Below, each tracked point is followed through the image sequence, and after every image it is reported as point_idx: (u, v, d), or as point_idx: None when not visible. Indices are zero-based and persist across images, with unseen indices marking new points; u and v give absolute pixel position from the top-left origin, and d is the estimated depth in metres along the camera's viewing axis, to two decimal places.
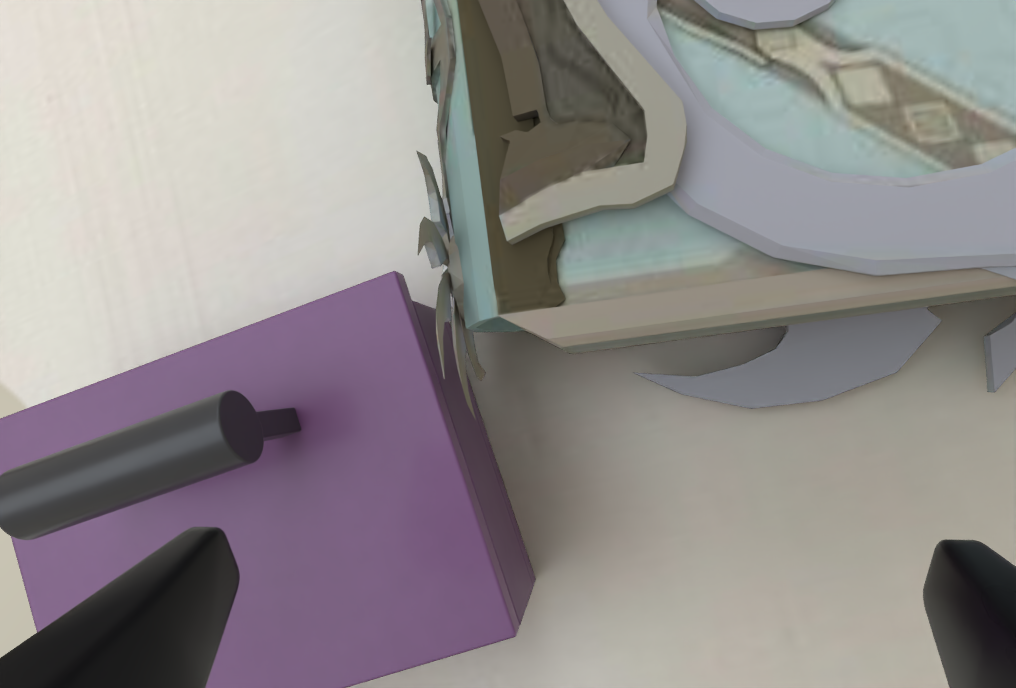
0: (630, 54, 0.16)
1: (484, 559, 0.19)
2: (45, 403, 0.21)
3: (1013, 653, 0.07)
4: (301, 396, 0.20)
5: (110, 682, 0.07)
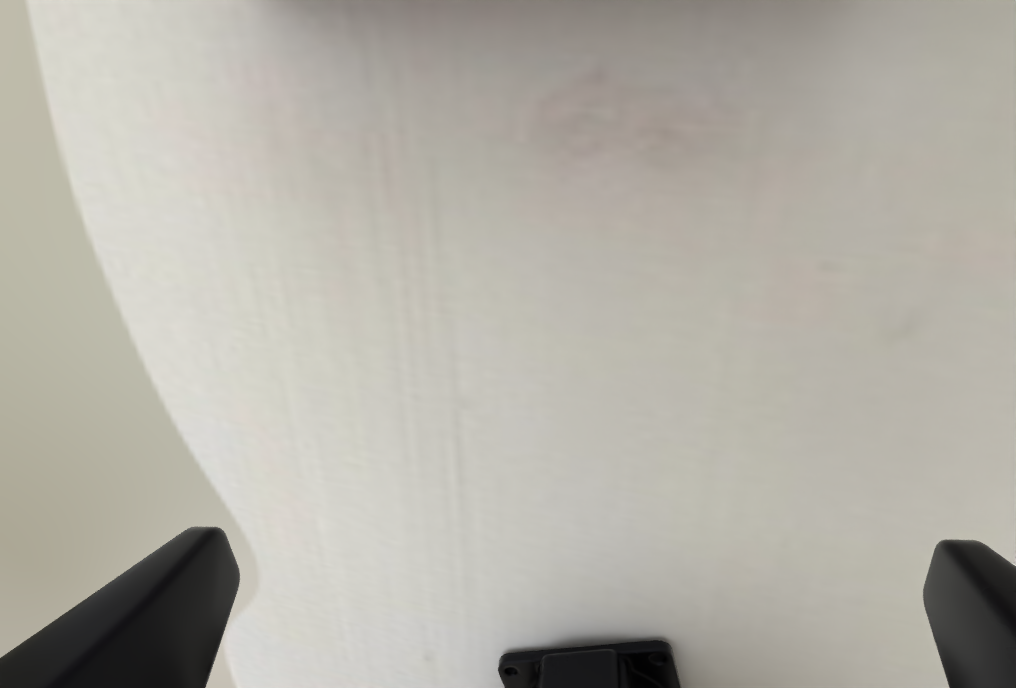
0: None
1: None
2: None
3: (1013, 653, 0.07)
4: None
5: (110, 682, 0.07)
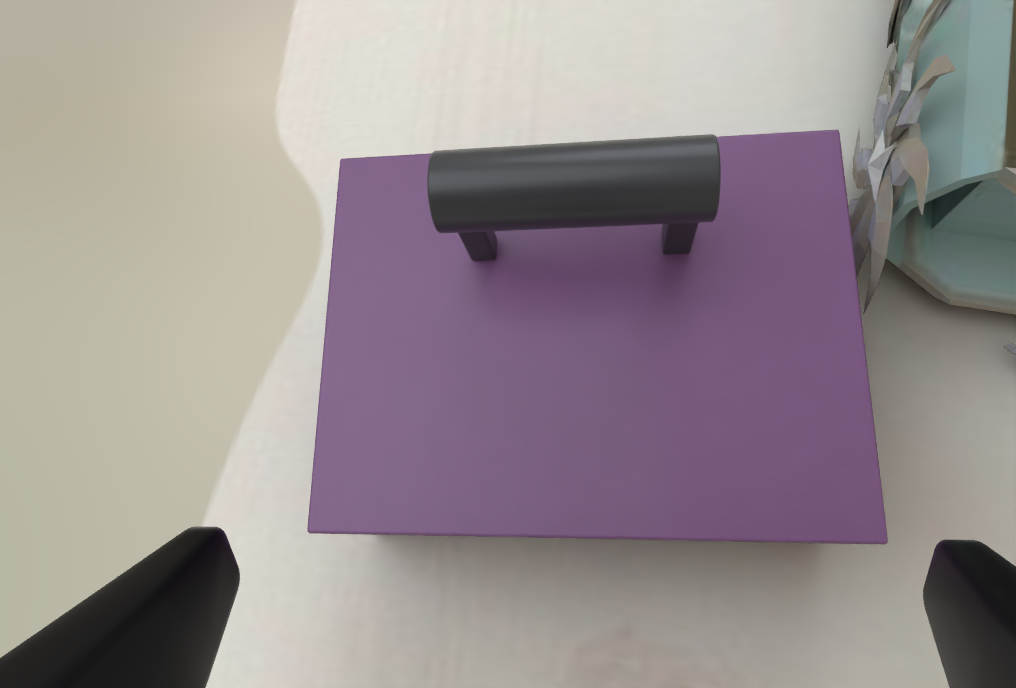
0: None
1: (869, 445, 0.16)
2: (416, 155, 0.20)
3: (1013, 653, 0.07)
4: None
5: (110, 682, 0.07)
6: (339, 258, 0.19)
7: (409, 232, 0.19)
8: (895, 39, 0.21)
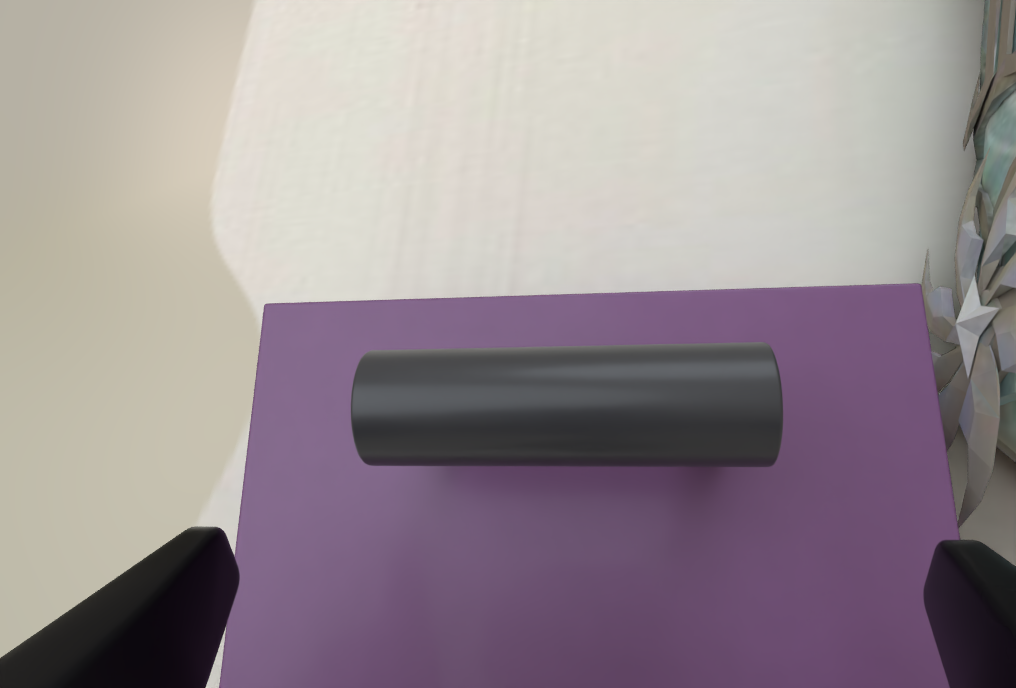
0: None
1: None
2: (362, 302, 0.15)
3: (1013, 653, 0.07)
4: None
5: (110, 682, 0.07)
6: (258, 442, 0.15)
7: (350, 409, 0.14)
8: (976, 141, 0.17)
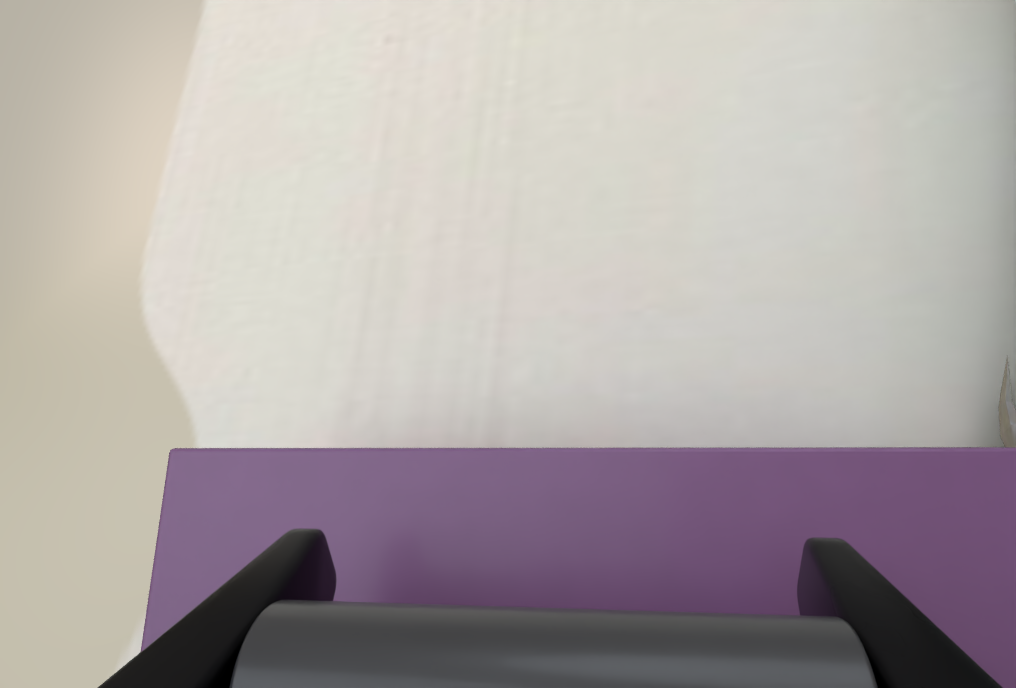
0: None
1: None
2: (293, 451, 0.12)
3: None
4: None
5: None
6: None
7: None
8: None
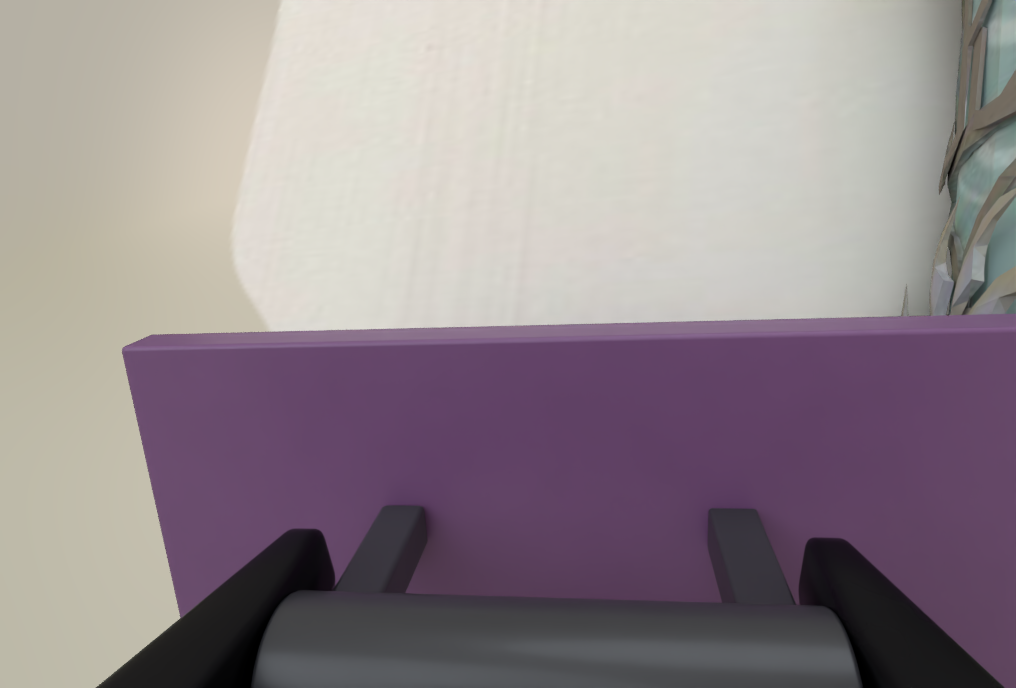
0: None
1: None
2: (258, 348, 0.11)
3: (852, 647, 0.07)
4: (777, 494, 0.10)
5: None
6: (172, 524, 0.12)
7: (275, 487, 0.11)
8: (950, 186, 0.18)
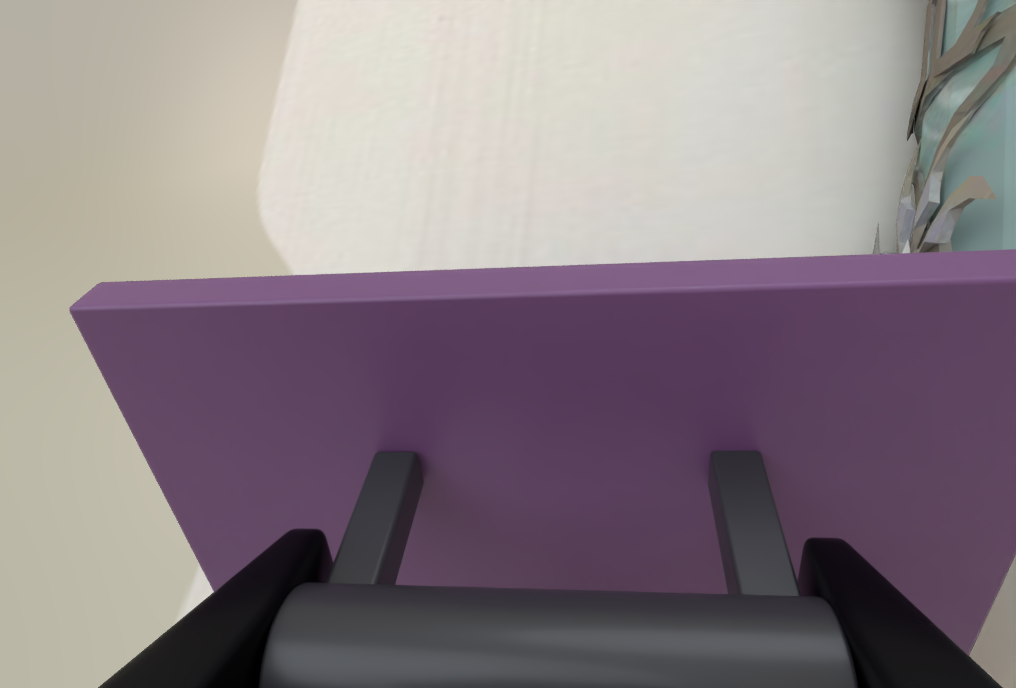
0: None
1: None
2: (219, 308, 0.09)
3: (850, 647, 0.07)
4: (782, 437, 0.10)
5: None
6: (163, 469, 0.11)
7: (261, 437, 0.11)
8: (916, 132, 0.20)
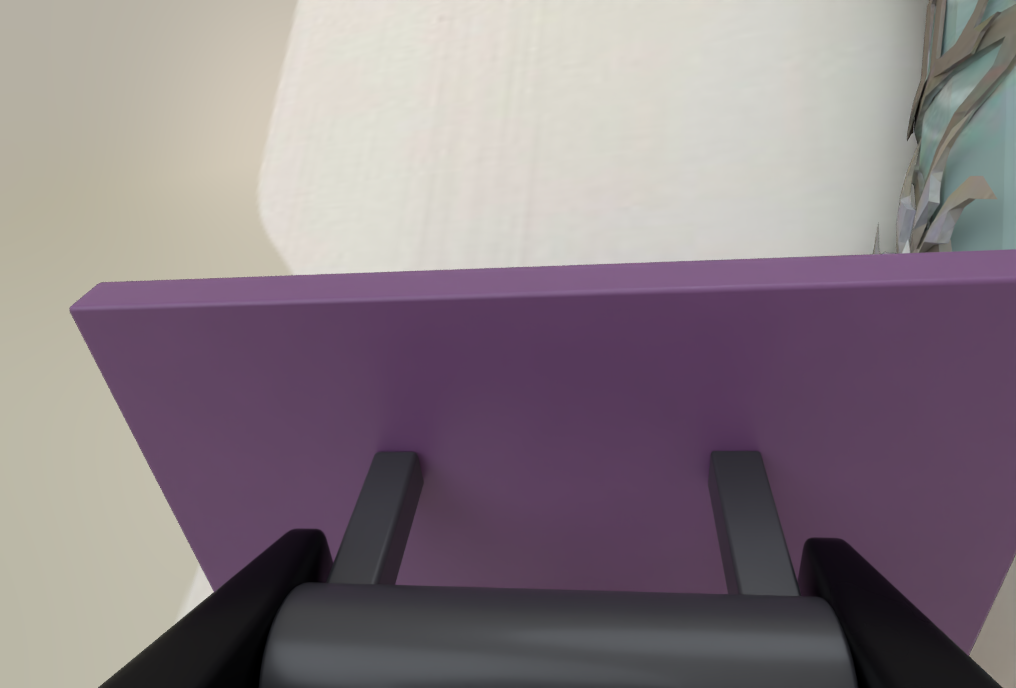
0: None
1: None
2: (219, 308, 0.09)
3: (850, 647, 0.07)
4: (783, 437, 0.10)
5: None
6: (163, 469, 0.11)
7: (261, 437, 0.11)
8: (916, 132, 0.20)
